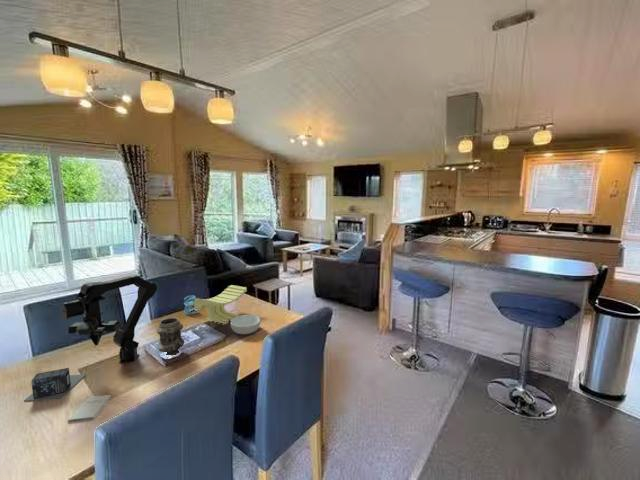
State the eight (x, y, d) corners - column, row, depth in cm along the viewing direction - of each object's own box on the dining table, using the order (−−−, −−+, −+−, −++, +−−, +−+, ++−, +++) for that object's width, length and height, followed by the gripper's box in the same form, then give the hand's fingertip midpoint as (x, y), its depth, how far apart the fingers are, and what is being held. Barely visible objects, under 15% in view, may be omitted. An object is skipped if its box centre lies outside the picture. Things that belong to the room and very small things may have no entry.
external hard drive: (68, 424, 107) (88, 400, 120) (94, 420, 109) (111, 398, 121) (67, 419, 107) (87, 396, 119) (93, 416, 109) (110, 394, 121)
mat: (86, 375, 135) (86, 374, 135) (60, 398, 120) (60, 397, 120) (54, 377, 134) (53, 376, 134) (23, 401, 118) (23, 400, 118)
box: (67, 392, 123) (33, 399, 118) (71, 384, 128) (38, 391, 123) (64, 374, 122) (30, 381, 117) (69, 367, 127) (36, 373, 122)
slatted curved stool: (229, 308, 214) (228, 284, 211) (247, 312, 207) (246, 287, 205) (195, 325, 187) (193, 297, 185) (214, 330, 180) (213, 301, 178)
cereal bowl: (224, 335, 174) (224, 323, 173) (242, 323, 190) (242, 313, 189) (249, 340, 168) (249, 328, 167) (265, 328, 183) (265, 317, 182)
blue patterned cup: (182, 313, 206) (181, 296, 204) (195, 309, 212) (193, 293, 210) (186, 316, 201) (185, 299, 199) (199, 313, 206) (198, 296, 204)
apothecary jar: (176, 346, 161) (174, 313, 159) (189, 353, 154) (187, 319, 152) (153, 355, 152) (150, 321, 149) (166, 363, 145) (163, 327, 142)
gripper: (56, 320, 124) (60, 355, 127) (105, 317, 127) (109, 352, 129) (74, 309, 135) (78, 342, 138) (119, 308, 138) (122, 340, 140)
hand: (96, 344), depth 136 cm, fingers closed
